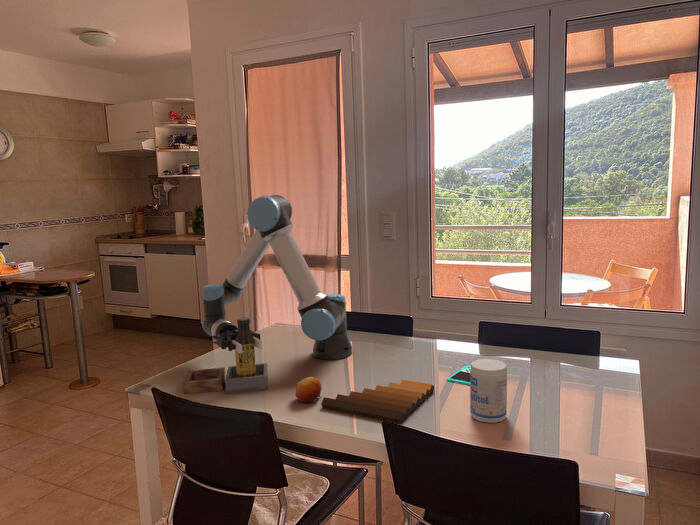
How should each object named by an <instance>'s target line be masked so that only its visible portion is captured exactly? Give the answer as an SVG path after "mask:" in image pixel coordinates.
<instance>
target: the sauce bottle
mask: <svg viewBox="0 0 700 525" xmlns="http://www.w3.org/2000/svg"><path fill="white" fill-rule="evenodd" d="M250 322H251V319H250V317H247V316H246V317H244V316H243V317H238V318H237V320H236V323H237V328H238V334H237V337H236V339H235V341H236V342H238V343H240V344H241V345H242V353H238V352H237V351H235V350H234V351H235V366H236V373H237V378H240V377H251V376H255V372H256V369H255V364H256V353H255V348H256V347H255V346H254V338H253V335H252V334H251V332H250V330H251V328H250V324H251V323H250Z"/></svg>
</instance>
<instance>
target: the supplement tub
mask: <svg viewBox="0 0 700 525" xmlns="http://www.w3.org/2000/svg"><path fill="white" fill-rule="evenodd" d="M470 366H471V370H470V386H469V387H470V388H469V391H470V392H469V394H470V395H469V407H470V408H469V410H470V412H469V413H470V416H471V417H472V418H473V419H475V420H477V421H479V422H480V423H488V424H497V423H500V422H503V421H504V420H505V419H506V417H507V410H508V408H507V407H508V405H507V404H508V403H507V402H508V400H507V399H508V368H507V364H506V363H505V362H503V361H502V360H498V359H492V358H479V359H476V360H473V361H472V362H471V363H470Z"/></svg>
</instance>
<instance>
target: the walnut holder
mask: <svg viewBox="0 0 700 525" xmlns="http://www.w3.org/2000/svg"><path fill="white" fill-rule="evenodd" d="M225 378H226V367H225V366H224V367H214V368H213V367H212V368H204V369H203V368H201V369H192V370H188V371H187V374H186V376H185V378H184V381H183V383H182V384H183V386H182V387H183V394H185V393H186V394H194V393H193V392H196V393H203V391H207V392H213V391H212V390H217V391H222V389H223V388H224V384H225ZM186 394H185V395H186Z"/></svg>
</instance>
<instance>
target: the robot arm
mask: <svg viewBox="0 0 700 525" xmlns="http://www.w3.org/2000/svg"><path fill="white" fill-rule="evenodd" d="M246 215H247V216H246V217H247V221H248V223H249V224H250V226H251V227H252V228H253V229H255V231H254V233H253V234H252V236H251V237H250V239H249V240H248V242H247V244H246V245H245V247H244V249H243V250H242V252H241V253H240V255H239V257H238V258H237V260H236V261H235V263H234V264H233V267H232V268H231V270H230V271H229V272H228V274H227V276H226V278H225V279H224V281H223V282H222V284H221V283H210V284H206V285H204V286H203V287H202V300H203V312H204V318H203V320H202V322H201V326H202V330H204V332H205V333H206V334H207V335H208V336H210V337H212V342H213V344H215V345H217V346H218V347H219V348H220V349H221V350H226V349H228V351H229V352H231V351H237V352H238V353H242V345H241V344H240V343H238V342H236V341H235V339H236V337H237V334H238V326H237V325H235V324H234V323H232V322H230V321H228V320H227V317H226V306H227V305H230V304H231V303H234V302H235V301H237V300H239V298H240V297H242V295H243V289H244V287H245V285H246V284H247V283H248V282H249V280H250V278H251V276H252V275H253V273H254V272H255V270H256V269H257V267H258V265H259V263H260V262H261V260H262V259H263V257H265V254H266V253H267V251H268V249H269V248H270V247H271V249H272V251H273V253H274V256H275V257H276V260H277V262H278V264H279V265H280V268H281V270H282V271H283V273H284V276H285V278H286V280H287V282H288V283H289V285H290V287H291V290H292V291H293V294H294V296H295V298H296V300H297V302H298V305H297V309H296V310H297V312H298V314H299V316H300V318H301V321H300V327H301V330H302V332H303V334H304V335H305V336H306V337H307V338H309V339H311V340H314V343H313V348H312V356H313V357H314V358H316V359H319V360H326V361H327V360H331V361H332V360H340V359H345V358H348V357H350V356H351V355H352V354H353V345H352V343H351V340H350V337H349V334H348V332H347V330H348V328H347V327H348V326H347V325H348V324H347V307H346V305H347V302H346V297H345V295H344V294H340V293H339V294H338V293H336V294H335V293H333V294H332V293H330V294H329V293H324V292H321V290H320V288H319V285H318V284H317V282H316V279H315V277H314V275H313V274H312V272H311V270H310V267H309V264H307V262H306V259H305V257H304V255H303V252H302V251H301V249H300V246H299V245H298V243H297V240H296V239H295V237H294V235H293V233H292V229H293V226H294V225H293V223H292V221H291V219H292V215H293V207H292V205H291V202H290V201H289V200H288V199H287V198H286V197H284V196H282V195H277V194H274V195H273V194H272V195H261V196H259V197H257V198H255V199H253V200H252V201H251V203H250V204H249V205H248V208H247V212H246ZM250 332H251V334H252V335H253V338H254V348H257V349H259V350H261V349H263V344H262V340H261V334H260V333H258V332H256V331H253V330H251V329H250Z"/></svg>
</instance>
